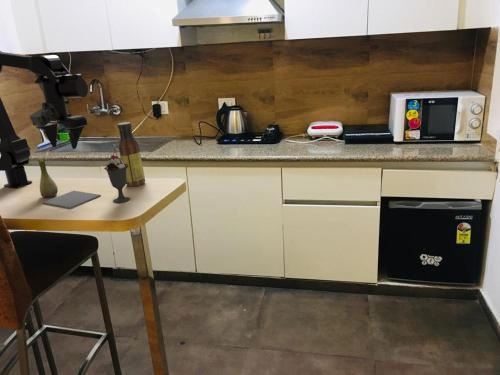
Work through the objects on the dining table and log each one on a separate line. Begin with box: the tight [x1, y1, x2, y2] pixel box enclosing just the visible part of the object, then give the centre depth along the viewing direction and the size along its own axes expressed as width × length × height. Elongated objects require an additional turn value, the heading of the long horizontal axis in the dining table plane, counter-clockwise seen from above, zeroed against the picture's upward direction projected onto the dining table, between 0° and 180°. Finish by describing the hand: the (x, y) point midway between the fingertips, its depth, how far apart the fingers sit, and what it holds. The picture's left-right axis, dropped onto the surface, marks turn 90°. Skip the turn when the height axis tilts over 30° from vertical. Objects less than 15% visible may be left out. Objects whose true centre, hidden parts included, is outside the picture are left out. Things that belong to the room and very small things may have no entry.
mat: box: [42, 190, 102, 210], centre depth 126 cm, size 12×11×1 cm
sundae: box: [103, 147, 131, 204], centre depth 121 cm, size 7×7×15 cm
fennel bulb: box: [37, 157, 58, 199], centre depth 129 cm, size 6×5×12 cm
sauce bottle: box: [117, 121, 146, 187], centre depth 134 cm, size 6×6×20 cm
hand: (64, 147), depth 136 cm, fingers open, 9 cm apart
